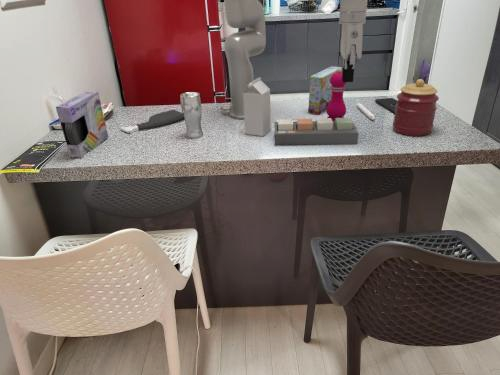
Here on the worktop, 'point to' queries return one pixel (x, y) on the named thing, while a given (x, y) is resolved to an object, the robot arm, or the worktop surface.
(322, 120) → the key white mid
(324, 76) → the snack box
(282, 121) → the key white left
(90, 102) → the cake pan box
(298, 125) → the key terracotta
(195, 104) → the beer glass
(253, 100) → the milk carton
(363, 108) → the marker
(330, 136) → the keypad
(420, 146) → the worktop surface
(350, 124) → the key sage
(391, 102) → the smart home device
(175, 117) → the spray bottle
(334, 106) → the pepper mill
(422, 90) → the canister
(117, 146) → the worktop surface
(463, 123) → the worktop surface
